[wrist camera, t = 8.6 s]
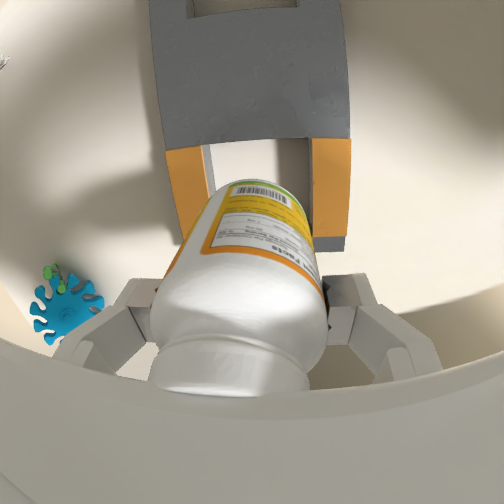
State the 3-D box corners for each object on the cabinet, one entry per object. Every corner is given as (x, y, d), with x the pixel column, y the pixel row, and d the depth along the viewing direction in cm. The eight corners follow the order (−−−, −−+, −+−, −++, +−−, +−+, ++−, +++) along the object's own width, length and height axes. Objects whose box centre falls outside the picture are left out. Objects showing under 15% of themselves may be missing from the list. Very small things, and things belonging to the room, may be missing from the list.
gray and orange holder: (317, -63, 8) (321, -77, 6) (338, 238, 21) (344, 253, 20) (158, -45, 9) (147, -55, 7) (195, 243, 23) (188, 258, 21)
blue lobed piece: (118, 337, 29) (51, 363, 24) (107, 314, 34) (48, 336, 28) (91, 257, 25) (12, 285, 19) (85, 241, 29) (18, 265, 23)
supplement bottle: (236, 285, 16) (205, 455, 7) (180, 209, 13) (75, 377, 5) (324, 248, 14) (362, 437, 6) (276, 155, 11) (276, 333, 3)
